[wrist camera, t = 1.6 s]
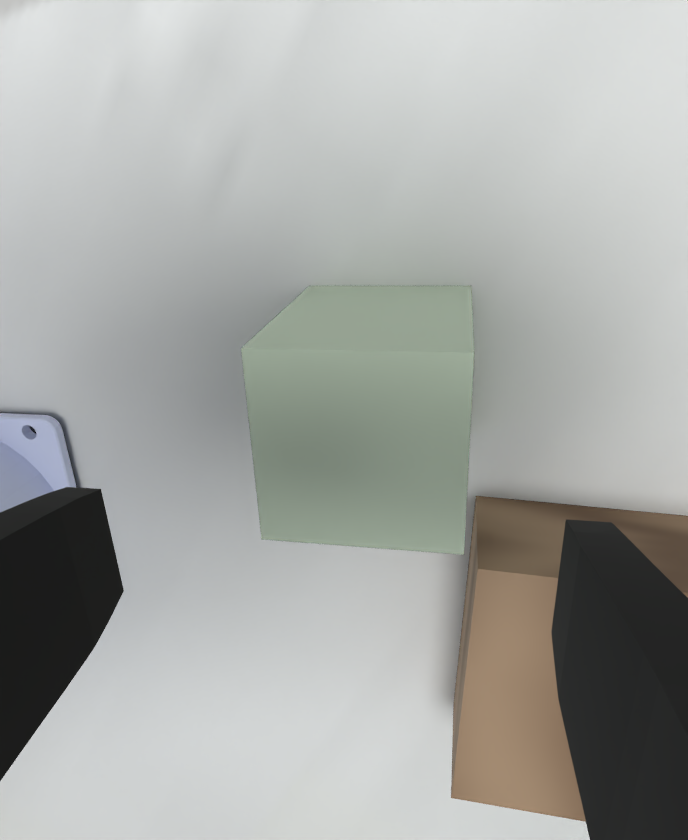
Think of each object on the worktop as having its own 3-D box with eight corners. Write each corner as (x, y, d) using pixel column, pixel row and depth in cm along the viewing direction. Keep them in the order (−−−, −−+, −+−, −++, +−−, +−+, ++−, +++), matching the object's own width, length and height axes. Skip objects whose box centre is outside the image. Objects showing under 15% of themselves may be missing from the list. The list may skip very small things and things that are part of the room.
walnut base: (453, 696, 23) (451, 797, 20) (476, 490, 20) (477, 568, 16) (711, 735, 22) (759, 851, 18) (787, 520, 18) (867, 614, 14)
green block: (318, 428, 19) (261, 539, 14) (309, 285, 18) (240, 348, 12) (464, 435, 19) (463, 554, 13) (471, 285, 17) (473, 353, 11)
